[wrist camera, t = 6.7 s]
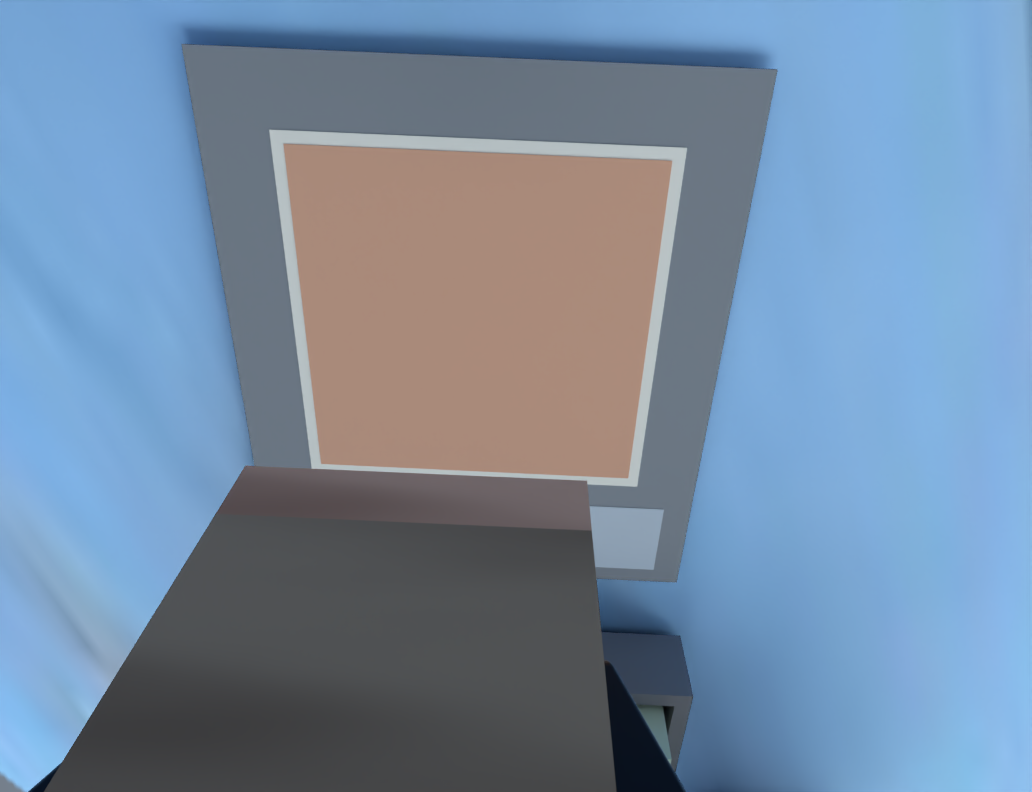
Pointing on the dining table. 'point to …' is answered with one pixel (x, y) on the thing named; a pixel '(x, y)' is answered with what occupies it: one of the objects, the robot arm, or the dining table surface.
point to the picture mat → (484, 266)
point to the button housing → (654, 677)
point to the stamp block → (367, 645)
